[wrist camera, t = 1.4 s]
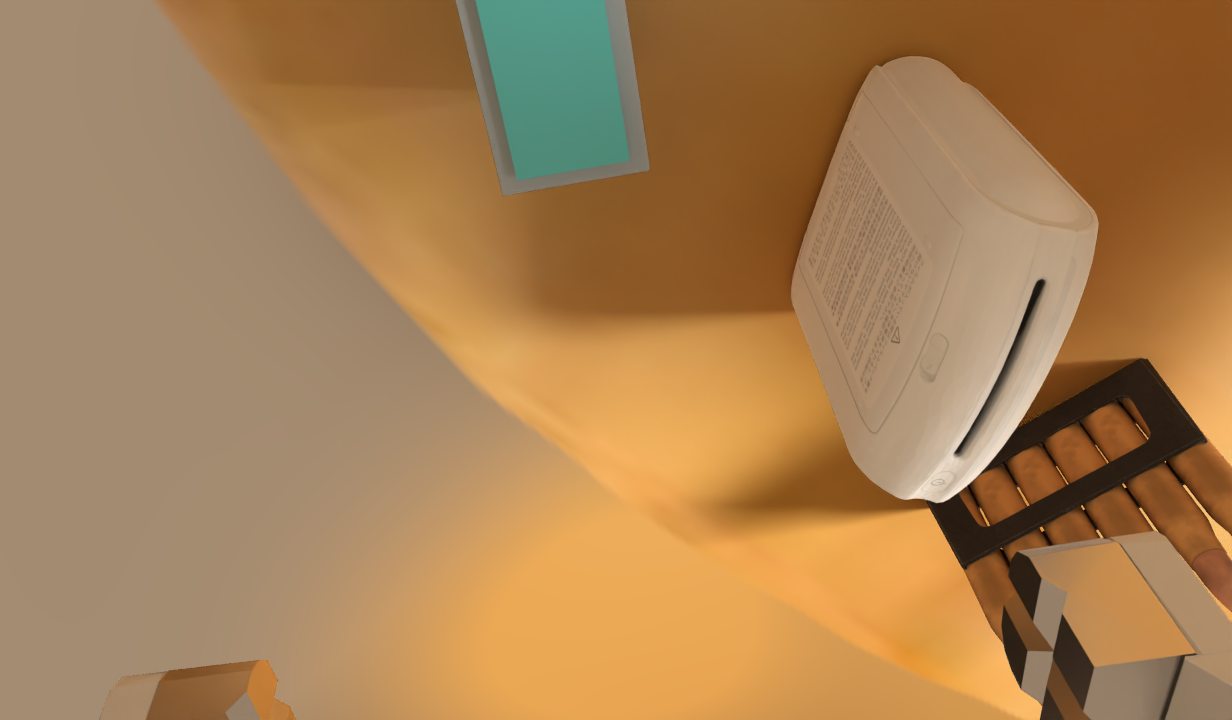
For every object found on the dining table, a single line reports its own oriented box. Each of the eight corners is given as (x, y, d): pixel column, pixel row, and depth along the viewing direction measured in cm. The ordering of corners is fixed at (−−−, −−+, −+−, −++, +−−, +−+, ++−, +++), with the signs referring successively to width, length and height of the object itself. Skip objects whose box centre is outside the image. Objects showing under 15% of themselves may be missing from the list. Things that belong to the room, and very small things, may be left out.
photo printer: (877, 319, 40) (993, 545, 30) (773, 303, 39) (855, 529, 29) (983, 65, 34) (1170, 237, 24) (864, 41, 34) (1005, 208, 23)
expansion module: (598, -126, 30) (616, -62, 23) (628, 70, 34) (651, 175, 27) (466, -102, 30) (446, -31, 24) (509, 91, 34) (502, 200, 27)
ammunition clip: (1144, 355, 42) (1331, 571, 32) (1161, 383, 43) (1347, 601, 33) (917, 484, 45) (1022, 716, 35) (936, 508, 46) (1044, 740, 36)
